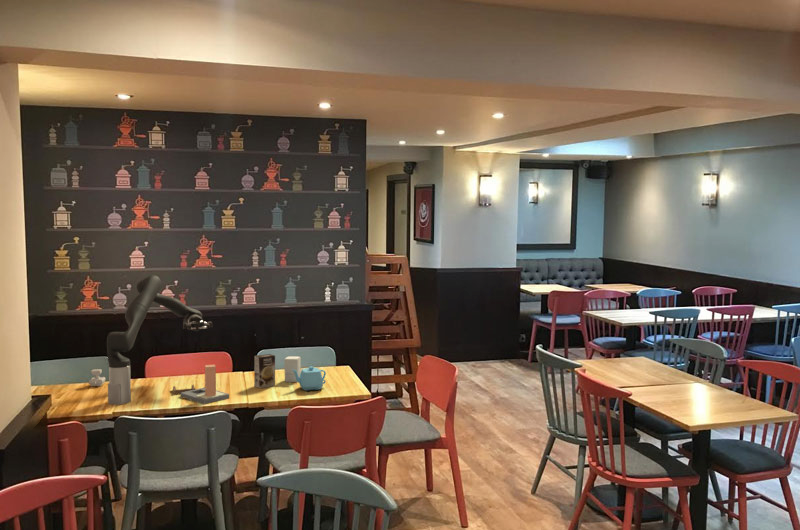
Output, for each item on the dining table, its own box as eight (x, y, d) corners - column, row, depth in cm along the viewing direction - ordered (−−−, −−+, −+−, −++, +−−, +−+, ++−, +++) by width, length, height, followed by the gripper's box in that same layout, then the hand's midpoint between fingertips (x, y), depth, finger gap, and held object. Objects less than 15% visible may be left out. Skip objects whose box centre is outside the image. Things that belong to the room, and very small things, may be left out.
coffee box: (259, 388, 331) (259, 357, 330) (254, 386, 336) (253, 355, 335) (275, 385, 337) (275, 355, 336) (269, 383, 342) (269, 353, 341)
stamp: (102, 387, 331) (101, 371, 330) (88, 388, 330) (87, 372, 329) (106, 383, 340) (105, 367, 339) (92, 384, 338) (92, 368, 338)
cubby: (195, 392, 322) (195, 388, 322) (174, 394, 319) (174, 390, 318) (193, 388, 331) (193, 384, 331) (172, 390, 327) (172, 386, 327)
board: (229, 398, 313) (229, 393, 312) (204, 404, 302) (203, 399, 302) (205, 391, 325) (205, 386, 325) (180, 396, 315) (180, 392, 314)
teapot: (288, 387, 334) (288, 365, 334) (323, 384, 340) (323, 363, 340) (293, 393, 323) (293, 370, 322) (328, 390, 329) (328, 368, 328)
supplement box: (301, 379, 352) (301, 356, 351) (297, 382, 345) (297, 359, 344) (287, 378, 353) (287, 355, 352) (284, 382, 346) (284, 358, 345)
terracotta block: (216, 395, 309) (215, 366, 308) (206, 396, 307) (205, 367, 307) (214, 393, 313) (214, 364, 312) (205, 394, 312) (204, 365, 311)
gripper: (181, 316, 338) (184, 320, 323) (209, 315, 343) (213, 319, 329) (181, 330, 338) (184, 335, 323) (209, 329, 344) (213, 333, 329)
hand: (199, 327), depth 326 cm, fingers open, 8 cm apart
